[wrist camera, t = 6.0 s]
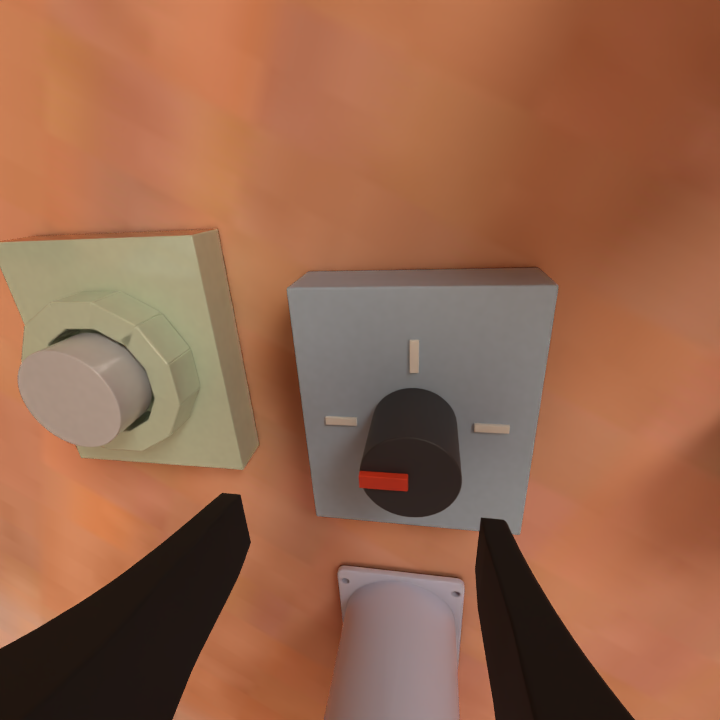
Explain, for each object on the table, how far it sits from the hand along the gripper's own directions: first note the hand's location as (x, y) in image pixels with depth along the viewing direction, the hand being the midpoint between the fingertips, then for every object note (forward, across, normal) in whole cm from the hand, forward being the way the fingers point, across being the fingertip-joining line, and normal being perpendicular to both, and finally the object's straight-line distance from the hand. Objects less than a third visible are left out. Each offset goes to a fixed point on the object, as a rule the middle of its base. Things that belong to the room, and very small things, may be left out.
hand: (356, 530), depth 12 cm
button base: (+9, +13, -2) cm, 16 cm away
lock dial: (+6, -1, 0) cm, 6 cm away
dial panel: (+9, -1, 0) cm, 9 cm away
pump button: (+6, +13, -2) cm, 14 cm away
